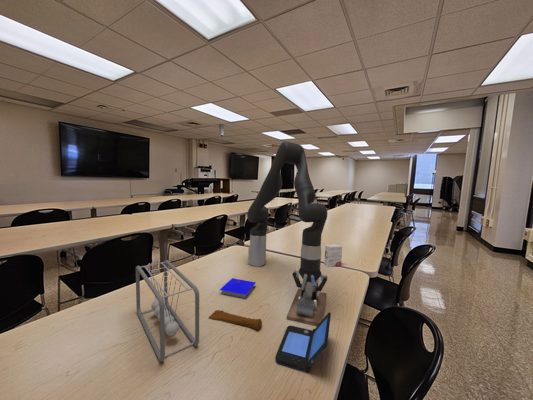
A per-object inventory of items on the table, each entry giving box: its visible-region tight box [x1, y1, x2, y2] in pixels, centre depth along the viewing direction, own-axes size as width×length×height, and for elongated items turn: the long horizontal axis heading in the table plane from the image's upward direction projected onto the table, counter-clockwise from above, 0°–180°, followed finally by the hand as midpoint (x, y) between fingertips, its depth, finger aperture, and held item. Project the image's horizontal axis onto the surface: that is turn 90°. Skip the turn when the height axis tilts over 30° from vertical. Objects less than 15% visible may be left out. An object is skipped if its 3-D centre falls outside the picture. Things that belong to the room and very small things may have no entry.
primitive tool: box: [208, 309, 263, 332], centre depth 79 cm, size 19×6×4 cm, turn 70°
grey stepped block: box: [297, 278, 320, 317], centre depth 88 cm, size 6×19×4 cm, turn 161°
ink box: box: [323, 243, 343, 267], centre depth 132 cm, size 9×5×12 cm, turn 103°
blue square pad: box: [219, 277, 257, 299], centre depth 100 cm, size 12×12×5 cm
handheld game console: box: [274, 311, 332, 373], centre depth 66 cm, size 16×13×9 cm
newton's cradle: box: [135, 259, 200, 363], centre depth 73 cm, size 30×10×18 cm, turn 40°
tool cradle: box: [286, 287, 327, 327], centre depth 88 cm, size 12×22×5 cm, turn 161°
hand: (308, 298), depth 88 cm, fingers closed on grey stepped block, 3 cm apart
